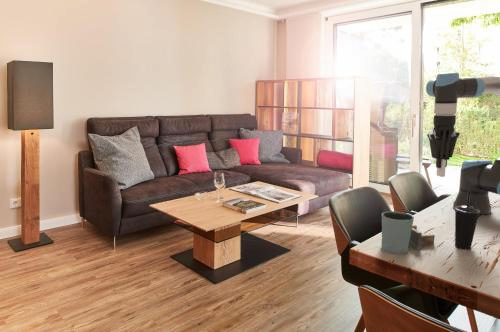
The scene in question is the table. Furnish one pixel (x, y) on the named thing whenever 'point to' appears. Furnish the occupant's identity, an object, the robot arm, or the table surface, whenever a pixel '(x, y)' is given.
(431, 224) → the table surface
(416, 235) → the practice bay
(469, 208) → the drinking cup
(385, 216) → the blue-grey embossed pot
